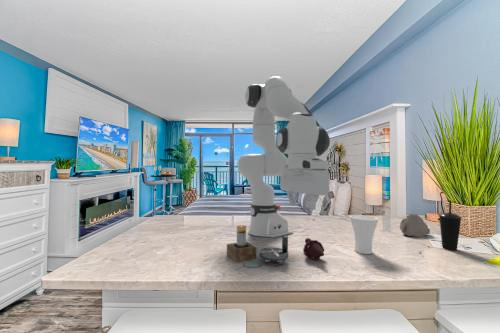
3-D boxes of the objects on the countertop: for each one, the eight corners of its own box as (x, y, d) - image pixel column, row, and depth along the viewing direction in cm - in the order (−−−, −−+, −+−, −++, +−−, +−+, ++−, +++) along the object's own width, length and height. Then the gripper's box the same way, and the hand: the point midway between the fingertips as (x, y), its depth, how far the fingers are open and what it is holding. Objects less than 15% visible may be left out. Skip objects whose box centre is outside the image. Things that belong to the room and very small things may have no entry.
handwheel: (263, 261, 84) (264, 242, 84) (256, 251, 94) (256, 234, 94) (292, 259, 87) (293, 241, 86) (282, 250, 96) (282, 233, 96)
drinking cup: (458, 247, 110) (458, 200, 110) (464, 252, 103) (464, 202, 103) (436, 245, 113) (437, 198, 113) (440, 250, 106) (441, 200, 106)
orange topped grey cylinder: (243, 254, 97) (243, 225, 97) (247, 257, 94) (247, 227, 94) (234, 255, 96) (235, 225, 96) (238, 258, 93) (239, 227, 93)
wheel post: (276, 257, 94) (276, 253, 94) (286, 263, 89) (286, 259, 89) (261, 260, 92) (262, 256, 92) (271, 266, 86) (271, 262, 86)
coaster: (255, 260, 91) (255, 259, 91) (263, 266, 86) (263, 264, 86) (241, 263, 89) (241, 261, 89) (248, 268, 84) (248, 267, 84)
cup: (355, 245, 110) (356, 213, 110) (382, 251, 103) (382, 217, 103) (344, 251, 103) (345, 217, 103) (372, 258, 95) (372, 221, 95)
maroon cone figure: (335, 246, 88) (316, 238, 102) (315, 242, 87) (298, 234, 101) (331, 267, 87) (312, 256, 102) (311, 263, 86) (294, 252, 100)
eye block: (246, 251, 100) (246, 241, 100) (256, 258, 93) (256, 247, 93) (226, 254, 97) (226, 244, 97) (235, 262, 90) (235, 250, 90)
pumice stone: (407, 237, 125) (408, 216, 125) (396, 233, 132) (396, 213, 132) (434, 236, 127) (435, 216, 127) (421, 232, 135) (422, 213, 135)
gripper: (275, 163, 90) (275, 203, 90) (316, 162, 72) (315, 212, 72) (290, 163, 93) (290, 202, 93) (333, 163, 75) (332, 211, 75)
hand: (301, 207), depth 82 cm, fingers open, 8 cm apart
